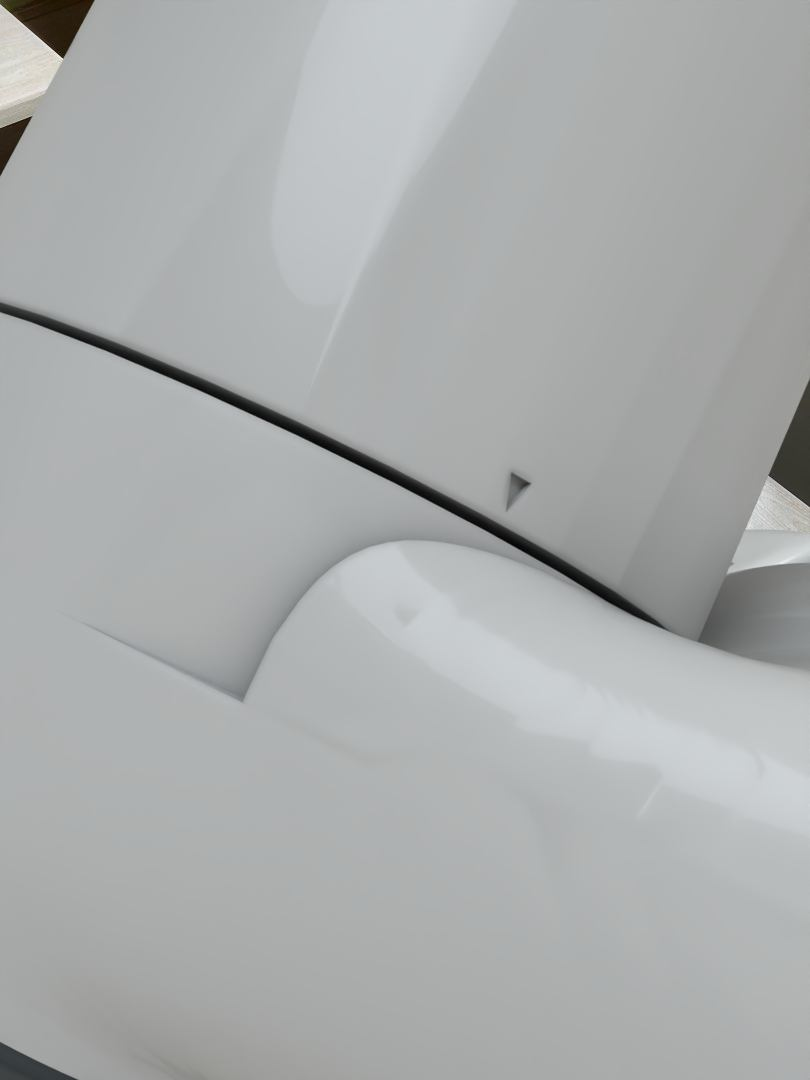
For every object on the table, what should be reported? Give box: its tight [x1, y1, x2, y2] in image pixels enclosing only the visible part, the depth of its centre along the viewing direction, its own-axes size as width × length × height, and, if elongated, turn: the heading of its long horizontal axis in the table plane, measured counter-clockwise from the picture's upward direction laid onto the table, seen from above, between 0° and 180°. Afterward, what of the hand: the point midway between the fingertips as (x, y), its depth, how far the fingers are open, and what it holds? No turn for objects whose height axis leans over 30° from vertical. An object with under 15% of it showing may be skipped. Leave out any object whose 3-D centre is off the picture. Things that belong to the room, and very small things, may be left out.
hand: (457, 676), depth 34 cm, fingers open, 8 cm apart
